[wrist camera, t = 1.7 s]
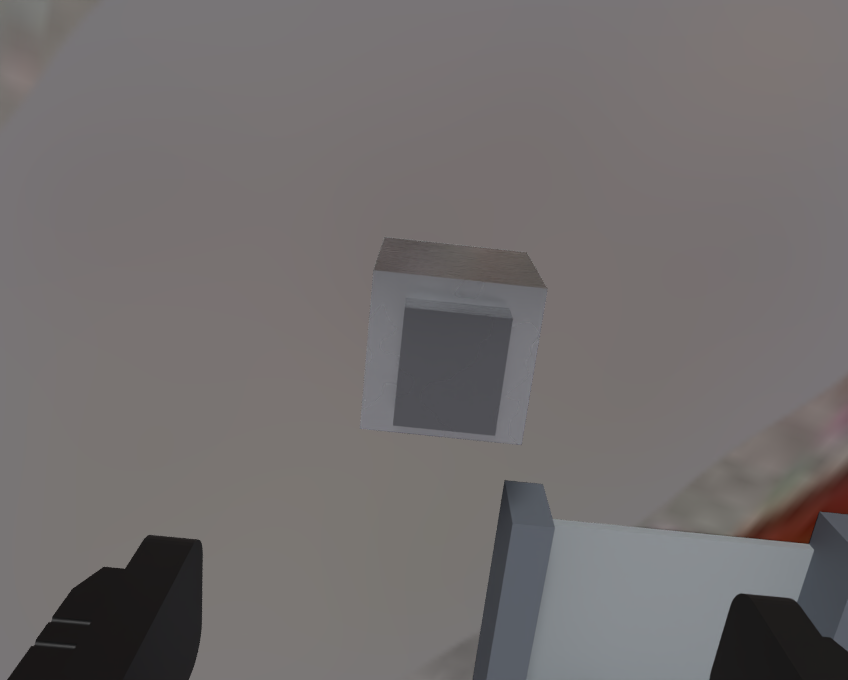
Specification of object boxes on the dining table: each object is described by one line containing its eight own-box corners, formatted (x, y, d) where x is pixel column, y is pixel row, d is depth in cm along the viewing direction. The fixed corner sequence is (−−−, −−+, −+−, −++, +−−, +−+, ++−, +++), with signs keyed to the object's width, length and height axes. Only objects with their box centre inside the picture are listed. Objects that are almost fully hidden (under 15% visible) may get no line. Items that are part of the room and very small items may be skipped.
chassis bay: (857, 515, 29) (903, 562, 26) (783, 729, 32) (817, 791, 29) (504, 480, 28) (512, 523, 25) (469, 700, 32) (473, 760, 29)
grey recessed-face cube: (526, 252, 26) (552, 298, 20) (506, 383, 27) (525, 460, 21) (384, 236, 25) (370, 278, 20) (372, 369, 27) (356, 443, 21)
